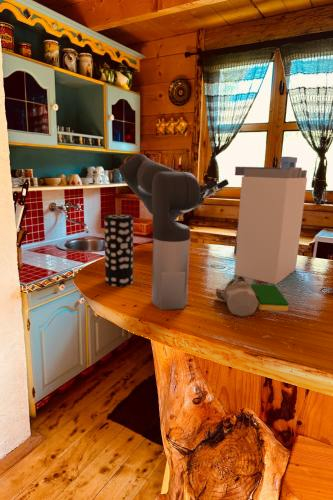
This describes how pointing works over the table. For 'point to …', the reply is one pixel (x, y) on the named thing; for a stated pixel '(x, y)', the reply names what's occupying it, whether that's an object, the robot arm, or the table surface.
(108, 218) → the white-spotted black cylinder
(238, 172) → the grey rectangular bar
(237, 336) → the table surface
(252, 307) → the ceramic sculpture
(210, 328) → the table surface
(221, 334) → the table surface
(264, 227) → the stand
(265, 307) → the dish sponge
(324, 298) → the table surface
